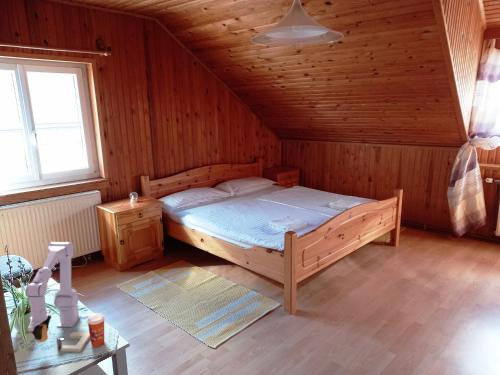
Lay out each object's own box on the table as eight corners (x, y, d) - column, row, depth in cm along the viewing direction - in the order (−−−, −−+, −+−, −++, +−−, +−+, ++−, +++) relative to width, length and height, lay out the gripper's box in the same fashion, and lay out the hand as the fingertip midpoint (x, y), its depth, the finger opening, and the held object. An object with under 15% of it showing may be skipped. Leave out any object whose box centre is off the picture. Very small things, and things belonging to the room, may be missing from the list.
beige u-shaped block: (73, 334, 177) (72, 331, 177) (91, 335, 178) (91, 332, 177) (61, 351, 166) (60, 348, 165) (80, 351, 166) (80, 348, 166)
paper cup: (93, 351, 167) (90, 324, 163) (86, 343, 172) (83, 316, 168) (109, 343, 172) (107, 317, 169) (102, 335, 177) (100, 310, 174)
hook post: (58, 347, 169) (57, 337, 167) (65, 347, 169) (64, 337, 167) (56, 349, 167) (55, 340, 166) (63, 349, 167) (62, 340, 166)
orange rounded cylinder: (39, 336, 165) (38, 323, 163) (49, 336, 165) (48, 323, 163) (34, 342, 160) (32, 329, 159) (44, 342, 161) (43, 329, 159)
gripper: (38, 299, 166) (41, 325, 169) (19, 317, 152) (23, 346, 155) (53, 299, 166) (56, 326, 169) (36, 318, 152) (39, 346, 155)
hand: (41, 335), depth 162 cm, fingers closed on orange rounded cylinder, 4 cm apart
